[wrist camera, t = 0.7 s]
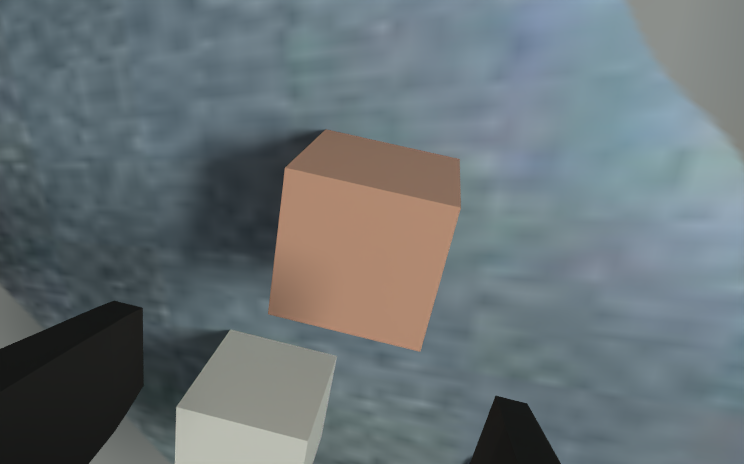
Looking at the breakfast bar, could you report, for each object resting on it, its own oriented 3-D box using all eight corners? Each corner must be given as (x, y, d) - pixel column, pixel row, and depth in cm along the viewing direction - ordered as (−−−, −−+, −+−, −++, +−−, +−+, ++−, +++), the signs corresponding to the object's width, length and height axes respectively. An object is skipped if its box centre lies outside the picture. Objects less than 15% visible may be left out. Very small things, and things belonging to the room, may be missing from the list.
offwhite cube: (321, 434, 25) (292, 529, 20) (224, 409, 25) (174, 497, 21) (337, 355, 23) (307, 441, 18) (231, 328, 23) (176, 406, 19)
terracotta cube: (427, 275, 21) (420, 351, 16) (308, 247, 21) (268, 314, 16) (459, 158, 18) (460, 207, 14) (326, 128, 19) (285, 167, 14)
